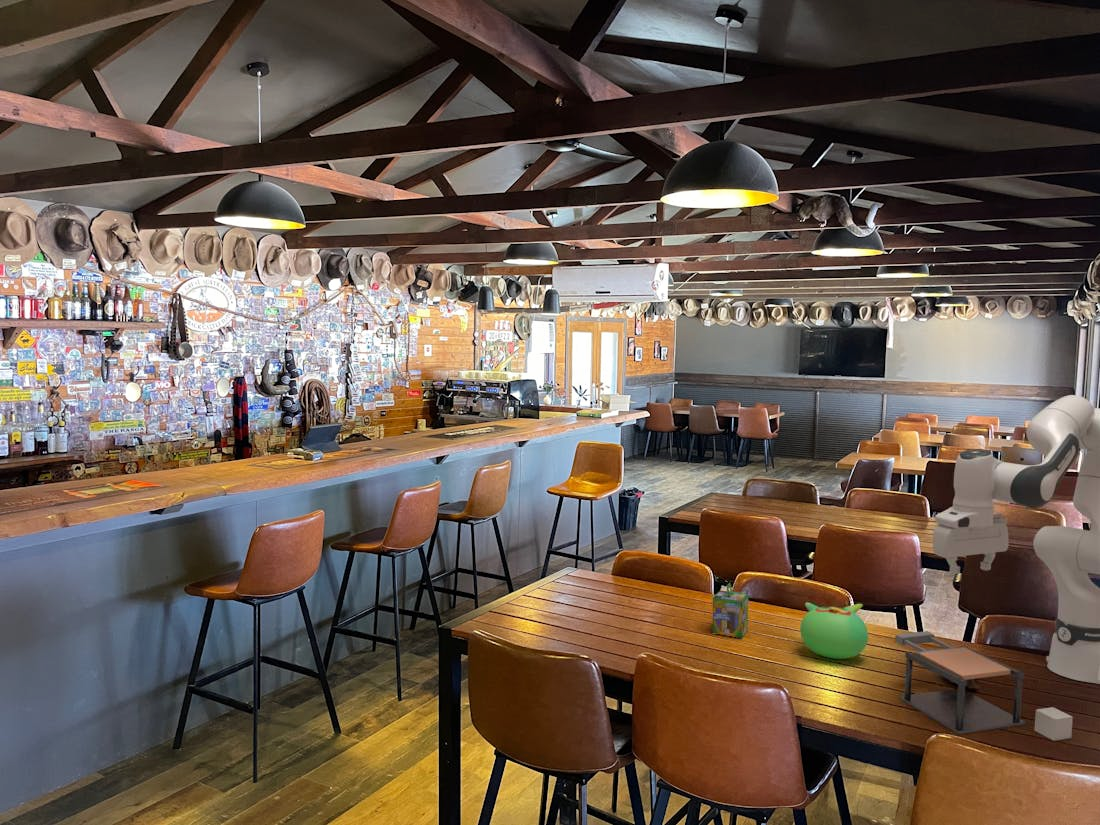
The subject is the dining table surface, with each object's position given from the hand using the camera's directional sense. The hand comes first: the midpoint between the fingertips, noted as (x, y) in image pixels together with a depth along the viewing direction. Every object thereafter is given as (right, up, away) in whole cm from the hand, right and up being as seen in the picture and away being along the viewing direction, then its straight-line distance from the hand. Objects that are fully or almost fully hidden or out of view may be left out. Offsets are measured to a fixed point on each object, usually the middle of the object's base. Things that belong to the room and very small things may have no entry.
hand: (970, 571), depth 196 cm
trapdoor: (-6, -21, -1) cm, 22 cm away
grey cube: (+10, -34, -16) cm, 39 cm away
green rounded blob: (-23, -30, +29) cm, 48 cm away
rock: (+4, -32, +13) cm, 34 cm away
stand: (-5, -33, -5) cm, 33 cm away
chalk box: (-49, -28, +47) cm, 73 cm away
